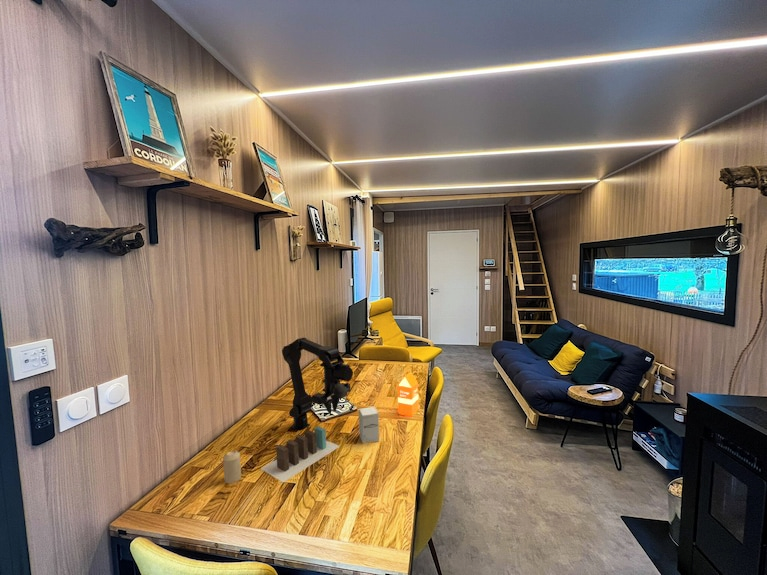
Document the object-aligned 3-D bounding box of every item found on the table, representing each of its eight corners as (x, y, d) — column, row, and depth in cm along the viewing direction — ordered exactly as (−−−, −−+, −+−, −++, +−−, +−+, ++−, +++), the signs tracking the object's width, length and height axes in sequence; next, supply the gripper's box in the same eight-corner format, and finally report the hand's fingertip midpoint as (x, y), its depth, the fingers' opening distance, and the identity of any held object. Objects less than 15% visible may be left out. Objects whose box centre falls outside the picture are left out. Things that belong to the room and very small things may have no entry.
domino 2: (295, 465, 123) (294, 445, 122) (287, 461, 126) (286, 441, 125) (298, 463, 124) (297, 443, 124) (291, 459, 127) (290, 439, 127)
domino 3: (304, 459, 126) (303, 440, 126) (296, 455, 129) (295, 436, 129) (308, 457, 128) (307, 438, 127) (300, 453, 131) (299, 434, 130)
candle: (236, 472, 120) (235, 446, 119) (244, 478, 117) (242, 451, 116) (221, 480, 116) (220, 453, 115) (228, 486, 112) (227, 458, 112)
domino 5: (322, 449, 133) (322, 430, 133) (315, 446, 136) (314, 427, 135) (326, 447, 134) (325, 429, 134) (318, 444, 137) (317, 425, 137)
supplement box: (362, 444, 137) (361, 415, 136) (359, 436, 144) (358, 408, 143) (379, 441, 139) (378, 412, 138) (375, 433, 146) (374, 405, 145)
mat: (260, 469, 122) (260, 468, 122) (317, 437, 144) (317, 436, 144) (283, 483, 113) (283, 482, 113) (339, 446, 135) (339, 446, 135)
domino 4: (313, 454, 130) (312, 435, 129) (305, 450, 133) (304, 431, 132) (316, 452, 131) (316, 433, 131) (309, 448, 134) (308, 429, 134)
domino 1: (285, 471, 119) (284, 450, 119) (277, 467, 122) (276, 446, 122) (289, 469, 121) (288, 448, 120) (281, 464, 123) (280, 444, 123)
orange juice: (398, 413, 165) (397, 375, 164) (405, 407, 173) (404, 370, 171) (412, 416, 161) (411, 377, 160) (418, 409, 169) (418, 372, 168)
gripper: (327, 387, 128) (329, 425, 129) (359, 374, 143) (360, 409, 144) (309, 382, 135) (310, 418, 136) (341, 370, 150) (342, 403, 151)
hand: (332, 412), depth 141 cm, fingers open, 3 cm apart
